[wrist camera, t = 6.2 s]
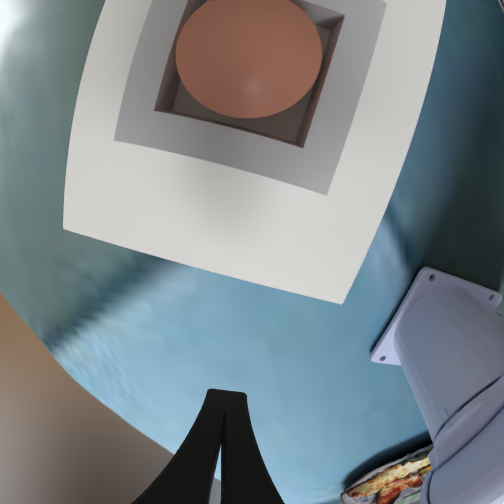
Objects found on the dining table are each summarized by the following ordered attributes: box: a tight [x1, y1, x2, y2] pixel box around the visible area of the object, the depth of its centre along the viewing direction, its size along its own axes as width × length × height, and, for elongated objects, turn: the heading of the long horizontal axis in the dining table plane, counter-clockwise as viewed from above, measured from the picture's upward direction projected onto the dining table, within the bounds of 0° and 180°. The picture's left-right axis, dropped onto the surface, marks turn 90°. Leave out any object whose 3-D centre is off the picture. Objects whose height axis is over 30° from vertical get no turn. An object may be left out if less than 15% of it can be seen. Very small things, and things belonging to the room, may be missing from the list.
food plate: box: [340, 443, 434, 504], centre depth 30 cm, size 25×23×4 cm
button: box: [176, 0, 322, 118], centre depth 10 cm, size 5×5×3 cm
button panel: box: [63, 0, 446, 304], centre depth 11 cm, size 16×20×4 cm
